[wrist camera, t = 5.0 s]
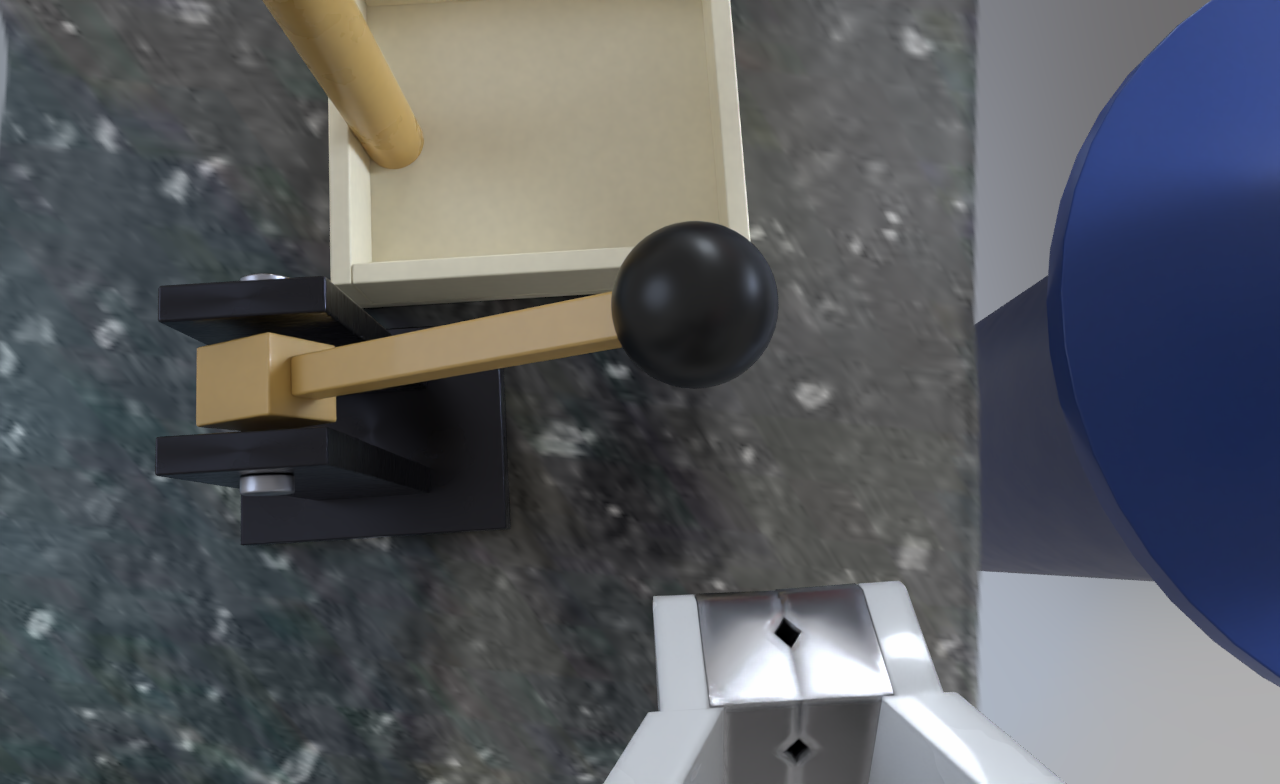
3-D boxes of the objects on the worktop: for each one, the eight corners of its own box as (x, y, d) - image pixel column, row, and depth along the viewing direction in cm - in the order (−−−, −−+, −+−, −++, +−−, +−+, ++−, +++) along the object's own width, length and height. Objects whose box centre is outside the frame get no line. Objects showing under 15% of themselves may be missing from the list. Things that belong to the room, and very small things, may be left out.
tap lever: (794, 229, 22) (733, 182, 19) (808, 386, 22) (747, 363, 19) (281, 339, 30) (176, 318, 27) (282, 458, 29) (174, 451, 26)
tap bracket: (502, 329, 40) (430, 213, 26) (510, 529, 38) (439, 517, 25) (253, 344, 40) (51, 236, 26) (253, 545, 38) (41, 542, 25)
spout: (562, 109, 41) (502, -237, 23) (565, 164, 41) (506, -145, 23) (368, 121, 41) (154, -218, 23) (369, 176, 41) (152, -125, 23)
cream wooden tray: (717, -23, 42) (724, -76, 39) (742, 285, 40) (752, 259, 36) (352, -2, 42) (325, -53, 38) (357, 308, 40) (329, 285, 36)
